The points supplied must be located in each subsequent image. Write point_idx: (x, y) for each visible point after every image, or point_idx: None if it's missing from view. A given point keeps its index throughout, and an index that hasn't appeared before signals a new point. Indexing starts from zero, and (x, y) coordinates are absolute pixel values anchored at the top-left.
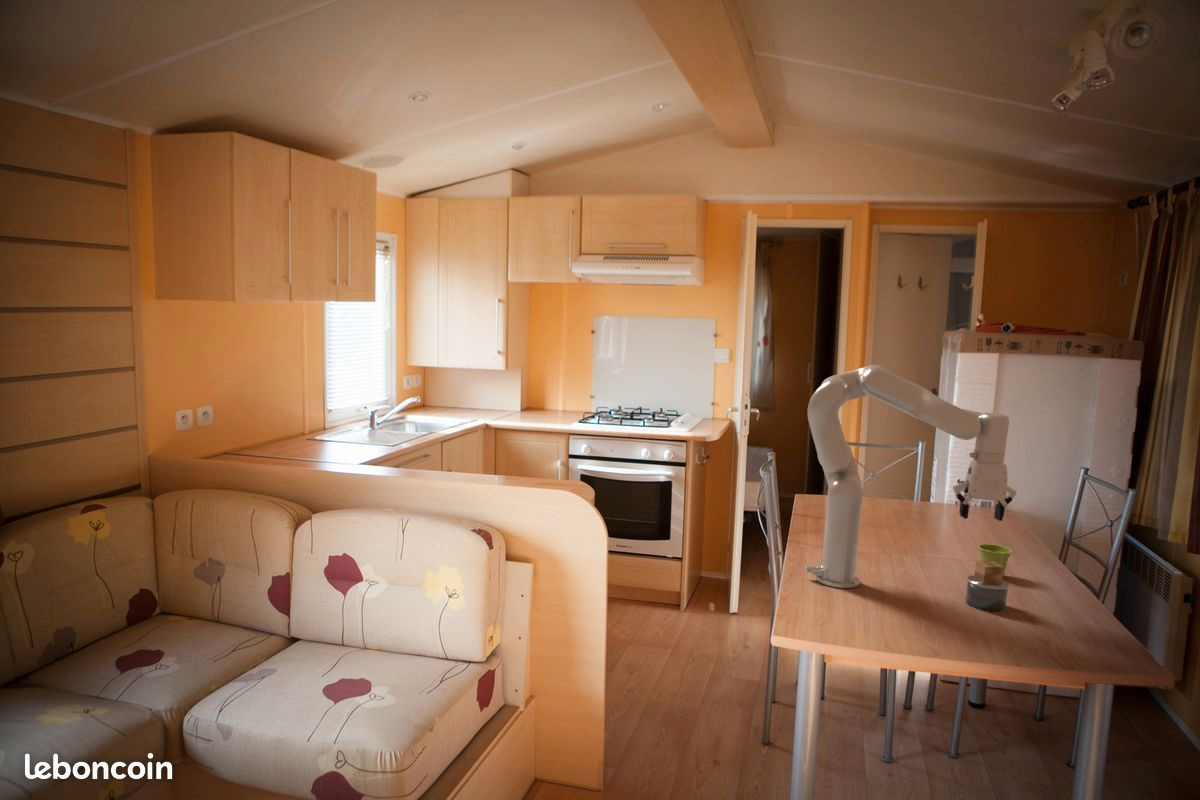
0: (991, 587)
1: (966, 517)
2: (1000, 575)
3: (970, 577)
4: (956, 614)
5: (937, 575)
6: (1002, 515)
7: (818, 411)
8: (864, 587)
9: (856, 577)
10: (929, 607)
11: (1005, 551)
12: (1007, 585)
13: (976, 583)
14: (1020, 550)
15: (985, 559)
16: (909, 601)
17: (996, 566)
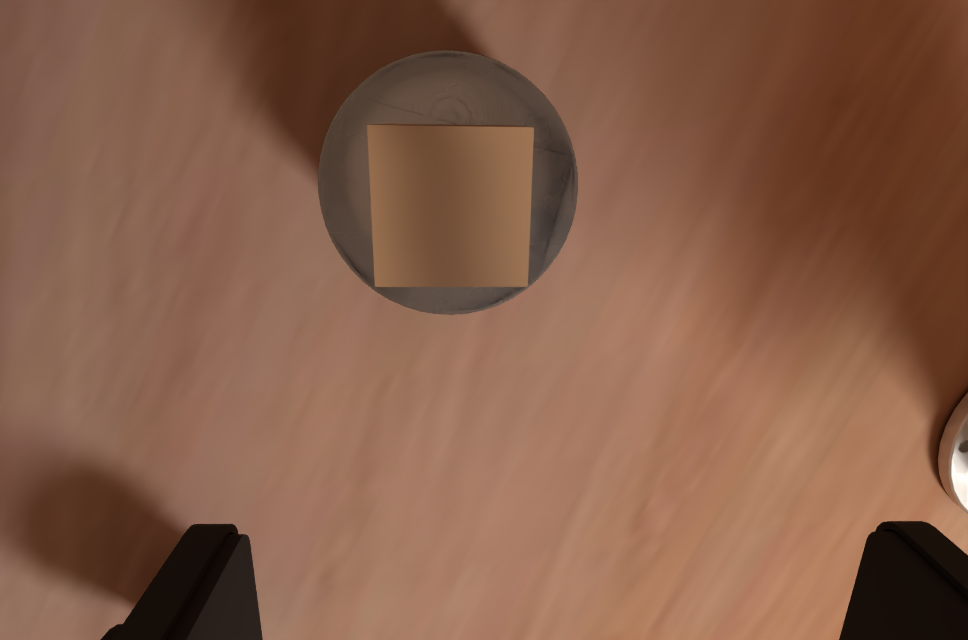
0: (489, 58)
1: (915, 530)
2: (392, 124)
3: (533, 263)
4: (693, 15)
5: (490, 565)
6: (145, 603)
7: None
8: (953, 370)
9: (960, 452)
10: (785, 116)
11: None
12: (341, 117)
13: (557, 138)
14: None
15: None
16: (842, 198)
17: (421, 143)
